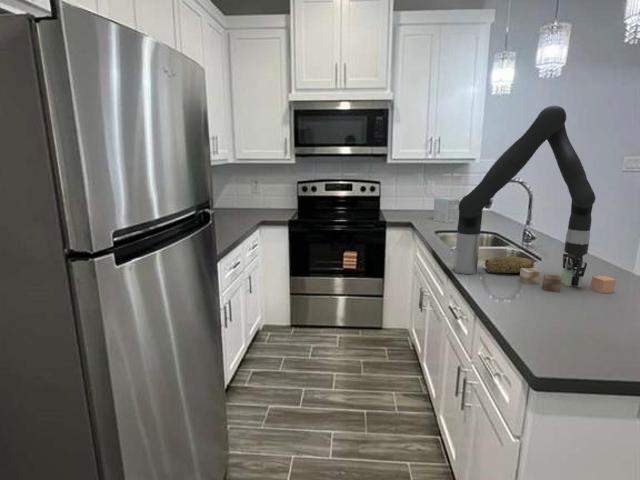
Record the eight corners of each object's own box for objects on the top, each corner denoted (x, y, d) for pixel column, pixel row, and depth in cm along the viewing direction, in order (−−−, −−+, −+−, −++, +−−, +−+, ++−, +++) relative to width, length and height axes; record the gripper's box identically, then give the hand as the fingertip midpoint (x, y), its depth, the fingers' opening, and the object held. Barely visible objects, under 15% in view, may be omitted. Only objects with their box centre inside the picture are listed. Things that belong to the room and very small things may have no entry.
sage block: (566, 286, 148) (568, 273, 147) (561, 281, 153) (562, 269, 152) (581, 286, 147) (582, 274, 146) (574, 282, 152) (576, 270, 151)
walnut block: (544, 290, 144) (545, 278, 142) (542, 286, 148) (544, 274, 147) (559, 292, 142) (561, 279, 140) (557, 288, 146) (559, 275, 145)
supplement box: (458, 221, 285) (460, 198, 281) (446, 223, 279) (448, 199, 275) (444, 219, 296) (446, 196, 293) (432, 220, 290) (434, 197, 286)
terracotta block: (602, 293, 140) (604, 280, 139) (590, 289, 145) (592, 276, 144) (613, 292, 141) (615, 279, 140) (601, 288, 146) (603, 275, 145)
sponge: (489, 278, 162) (541, 271, 157) (486, 260, 162) (538, 253, 157) (484, 274, 175) (533, 268, 169) (482, 257, 175) (530, 251, 169)
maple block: (526, 284, 151) (527, 272, 150) (519, 280, 156) (520, 268, 155) (538, 284, 151) (540, 271, 150) (531, 279, 156) (532, 268, 155)
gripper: (558, 236, 154) (552, 277, 157) (575, 245, 140) (569, 289, 144) (578, 237, 152) (572, 277, 156) (598, 245, 139) (591, 290, 142)
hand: (571, 283), depth 150 cm, fingers closed on sage block, 5 cm apart
